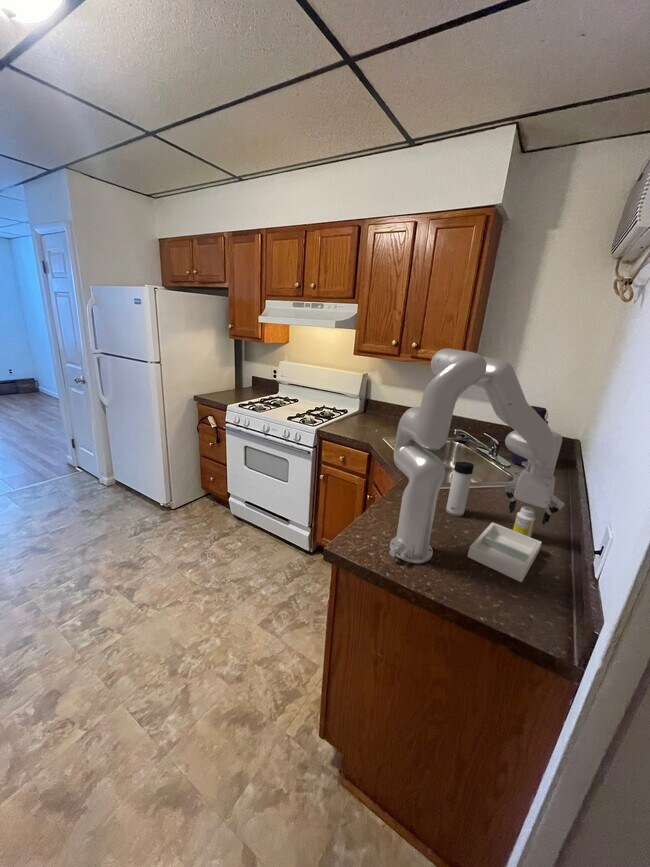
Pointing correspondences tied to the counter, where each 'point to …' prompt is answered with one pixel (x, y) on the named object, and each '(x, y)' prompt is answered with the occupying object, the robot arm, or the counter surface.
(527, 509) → the supplement bottle
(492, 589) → the counter surface
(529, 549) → the bay tray
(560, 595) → the counter surface
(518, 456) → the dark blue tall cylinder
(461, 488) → the travel mug
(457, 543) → the counter surface
